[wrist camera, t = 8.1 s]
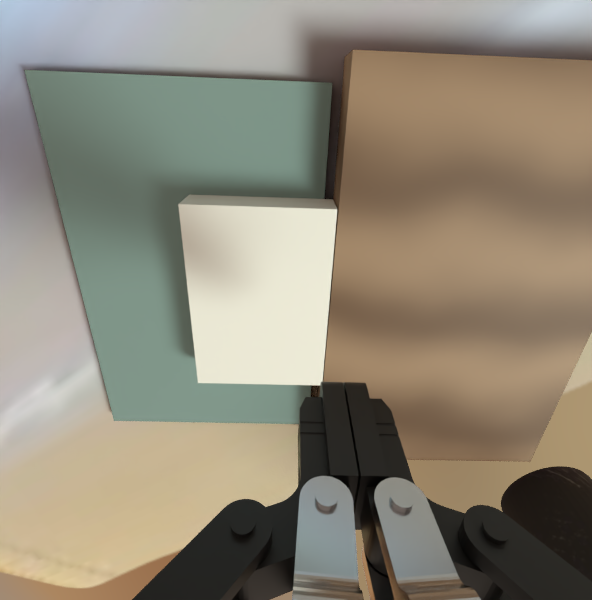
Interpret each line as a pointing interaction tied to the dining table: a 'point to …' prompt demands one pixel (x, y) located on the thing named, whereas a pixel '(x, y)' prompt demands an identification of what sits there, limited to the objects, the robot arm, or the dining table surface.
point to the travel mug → (555, 512)
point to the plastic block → (258, 286)
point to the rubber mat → (169, 216)
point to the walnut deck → (462, 245)
